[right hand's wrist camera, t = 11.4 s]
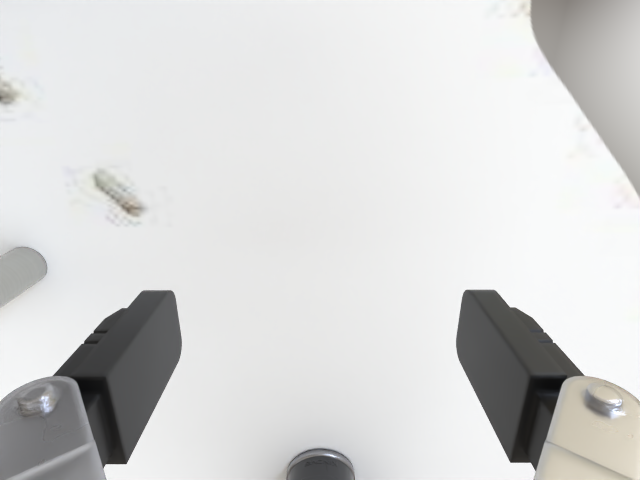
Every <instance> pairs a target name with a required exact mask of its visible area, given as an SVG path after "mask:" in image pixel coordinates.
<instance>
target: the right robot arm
mask: <svg viewBox="0 0 640 480" xmlns="http://www.w3.org/2000/svg"><path fill="white" fill-rule="evenodd" d="M181 347H182V339H181V332H180V325H179V318H178V311H177V305H176V298H175V295H174V293H173V291H171V290H145V291H142V292H141V293H140V294H139V295H138V296H137V298H136V299H135V300H134V301H133V302H132V303H131V305H130V306H129V307H128V308H122V309H120V310H119V311H117V312H115V313H114V314H112V315H110V316H109V317H107V318H105V319H104V320H103V321H102V323H101V324H100V325H99V326H98V327H97V328H96V329H95V330H94V333H93V334H91V335H90V336H89V337H88V338H87V339H86V340H85V341H84V344H81V346H80V347H79V348H78V349H77V350H76V351H75V352H74V353H73V354H72V355H71V357H70V358H69V359H68V360H67V361H66V362H65V363H64V364H63V365H62V366H61V367H60V369H59V370H58V371H57V372H56V373H55V374H54V375H53V376H52V377H46V378H41V379H38V380H35V381H32V382H30V383H27V384H25V385H23V386H21V387H19V388H17V389H16V390H14V391H12V392H11V393H9V394H8V395H7V396H6V397H4V398H3V399H2V400H1V401H0V480H106V477H105V473H104V470H103V468H104V466H105V465H106V464H127V462H128V460H129V458H130V456H131V454H132V452H133V450H134V448H135V446H136V444H137V442H138V440H139V438H140V436H141V434H142V432H143V430H144V428H145V426H146V424H147V423H148V421H149V419H150V417H151V415H152V413H153V411H154V409H155V407H156V405H157V403H158V401H159V399H160V397H161V395H162V393H163V391H164V389H165V387H166V385H167V383H168V381H169V379H170V377H171V375H172V373H173V371H174V369H175V367H176V365H177V363H178V361H179V358H180V354H181ZM456 348H457V354H458V358H459V361H460V363H461V365H462V367H463V369H464V371H465V373H466V375H467V377H468V379H469V381H470V383H471V385H472V387H473V389H474V391H475V393H476V395H477V397H478V399H479V401H480V403H481V405H482V407H483V409H484V411H485V413H486V415H487V417H488V419H489V421H490V423H491V425H492V427H493V429H494V431H495V433H496V435H497V437H498V439H499V441H500V443H501V445H502V447H503V449H504V451H505V453H506V455H507V457H508V459H509V461H510V463H531V464H532V465H533V467H534V469H535V471H536V473H535V477H534V480H640V401H639V400H638V399H637V398H636V397H634V396H633V395H632V394H631V393H629V392H628V391H626V390H624V389H623V388H621V387H619V386H617V385H615V384H613V383H610V382H608V381H605V380H602V379H599V378H594V377H588V376H584V374H583V373H582V372H581V371H580V370H579V369H578V368H577V367H576V366H575V365H574V363H573V362H572V361H571V360H570V359H569V358H568V357H567V356H566V355H565V353H564V352H563V351H562V350H561V349H560V348H559V347H558V346H557V345H556V343H553V340H552V339H551V338H550V337H549V336H548V335H547V334H546V333H544V332H543V329H542V328H541V327H540V326H539V325H538V324H537V322H536V321H535V320H534V319H533V318H532V317H530V316H528V315H527V314H525V313H523V312H522V311H520V310H518V309H517V308H510V307H509V306H508V305H507V303H506V302H505V301H504V300H503V299H502V297H501V296H500V295H499V294H498V293H497V292H496V291H495V290H466V291H465V292H464V294H463V297H462V303H461V310H460V317H459V324H458V331H457V338H456ZM287 480H355V475H354V469H353V466H352V464H351V463H350V461H349V460H348V459H347V458H346V457H344V456H343V455H341V454H339V453H337V452H334V451H330V450H322V449H320V450H311V451H307V452H304V453H302V454H300V455H299V456H297V457H296V458H295V459H294V460H293V461H292V462H291V463H290V465H289V467H288V470H287Z"/></svg>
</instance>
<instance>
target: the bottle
mask: <svg viewBox="0 0 640 480" xmlns="http://www.w3.org/2000/svg"><path fill="white" fill-rule="evenodd" d="M46 272H47V265H46V262H45V260H44V258H43V257H42V256H41V255H40V254H39V253H38V252H36V251H35V250H33V249H31V248H27V247H18V248H15V249H13V250H11V251H10V252H8V253H6V254H4V255H2V256H0V308H1V307H2V306H4V305H5V304H7V303H8V302H10V301H11V300H12V299H14V298H15V297H17V296H18V295H19V294H21V293H22V292H24V291H25V290H27V289H28V288H29V287H31V286H32V285H34V284H35V283H37V282H38V281H39V280H41V279H42V278H43V277H44V276H45V275H46Z"/></svg>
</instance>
